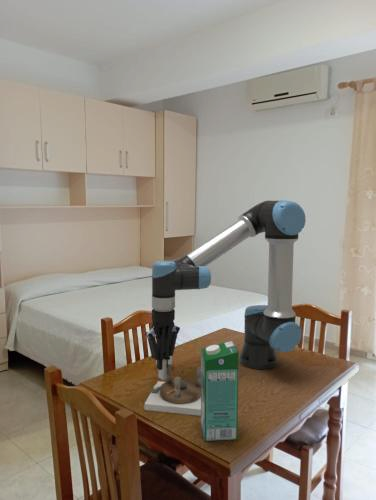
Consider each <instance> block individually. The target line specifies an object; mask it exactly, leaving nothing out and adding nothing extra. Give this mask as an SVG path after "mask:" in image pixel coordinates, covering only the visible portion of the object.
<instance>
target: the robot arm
mask: <svg viewBox="0 0 376 500" xmlns="http://www.w3.org/2000/svg"><path fill="white" fill-rule="evenodd" d="M306 220H307V219H306V214H305V211H304V209H303V208H302V206H301V205H300V204H299V203H297V202H295V201H292V200H287V199H283V200H264V201H262V202H260V203H258V204H256V205H254V206H253V207H250V208H249V209H248V210H247V211H245V212H243V213H242V214H241V215H239V216H238V220H236V221H235V222H233V223H232V224H231V225H229V226H227V227H226V228H225V229H223V230H221V231H220V232H219V233H217V234H216V235H214V236H213V237H211V238H210V239H208V240H206V241H205V242H204V243H202V244H200V245H199V246H197V247H196V248H194V249H193V250H192V251H190V252H189V253H187V254H186V255H184V256H182V257H181V258H179V259H174V260H158V261H155V262H154V263H153V264H152V274H151V289H152V290H151V292H152V293H151V308H152V309H151V321H152V324H151V328H150V330H149V331H146V332H144V333H145V334H144V335H145V336H146V338H147V342H148V346H149V350H150V356H151V359H154V360H155V361H156V360H157V364H156V369H157V373H158V374H157V377H158V378H159V379H160V380H163V381H164V380H165V381H166V368H167V367H168V360H170V356H172V357H173V356H174V353H175V347H176V344H177V343H176V342H177V338H178V334H179V332H180V330H181V328H180V326H177V325H175V322H174V321H175V314H176V311H175V308H176V291H183V290H184V291H185V290H186V291H187V290H203V289H207V288H209V286H211V280H212V273H211V270H210V268H209V267H207V266H208V265H210V264H211V263H213V262H214V261H216V260H217V259H219V258H220V257H221V256H223V255H225V254H226V253H227V252H229V251H230V250H233V249H234V248H235V247H236V246H238V245H240V244H241V243H242V242H243V241H245V240H247V239H248V238H254V237H256V236H257V235H259V234H262V233H264V239H265V240H266V242H268V244H269V245H268V278H267V304H264V305H263V304H258V305H250V306H247V307H245V309H244V339H243V340H244V342H243V345H242V347H241V351H240V352H239V363H240V364H241V365H242V366H243V367H247V368H250V369H253V370H255V369H256V370H269V369H272V368H276V367H277V365H278V362H279V361H278V359H279V358H278V354H277V351H278V352H281V353H289V352H291V351H293V350H294V349H296V347H297V346H298V345H299V343H300V341H301V339H302V333H303V331H302V328H301V326H299V324H298V323H296V319H297V317H296V312H295V311H294V309H293V305H292V304H293V281H294V280H293V278H294V277H293V274H294V249H295V248H294V244H295V243H296V242H297V241H298V240H299V234H300V233H301V232H302V230H303V229H304V227H305V224H306Z"/></svg>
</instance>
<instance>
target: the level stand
mask: <svg viewBox="0 0 376 500" xmlns="http://www.w3.org/2000/svg"><path fill="white" fill-rule="evenodd" d="M165 382H166V381H158V380H157V383H155V385H154V386H153V389H152V390H151V391H150V394H149V395H148V397H147V398H146V401H145V402H144V404H143V408H144V410H145V411H152V412H161V413H171V414H180V415H187V416H189V415H191V416H197V417H198V416H199V417H201V397H200V398H199V399H197V400H195V401H193V402H189V403H172V402H168V401H166V400H164V399H163V398H162V397H161V396H160V386H161V385H162V384H163V383H165Z"/></svg>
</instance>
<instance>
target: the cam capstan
mask: <svg viewBox="0 0 376 500" xmlns="http://www.w3.org/2000/svg"><path fill="white" fill-rule="evenodd" d="M195 373H196V374H195V375H196V381H195V380H192V379H189V378H187V379H186V378H181V376H175V377H174V379H173V378H172V377H173V376H172V375H173V374H172V365H171V364H168V367H167V368H166V379H165V381H164V382H165V383H163V384H162V385H161V386H160V396H161V397H162V398H163V399H164V400H166V401H168V402H172V403H189V402H193V401H195V400H197V399H199V398H200V397H201V366H197V367H196V372H195Z"/></svg>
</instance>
